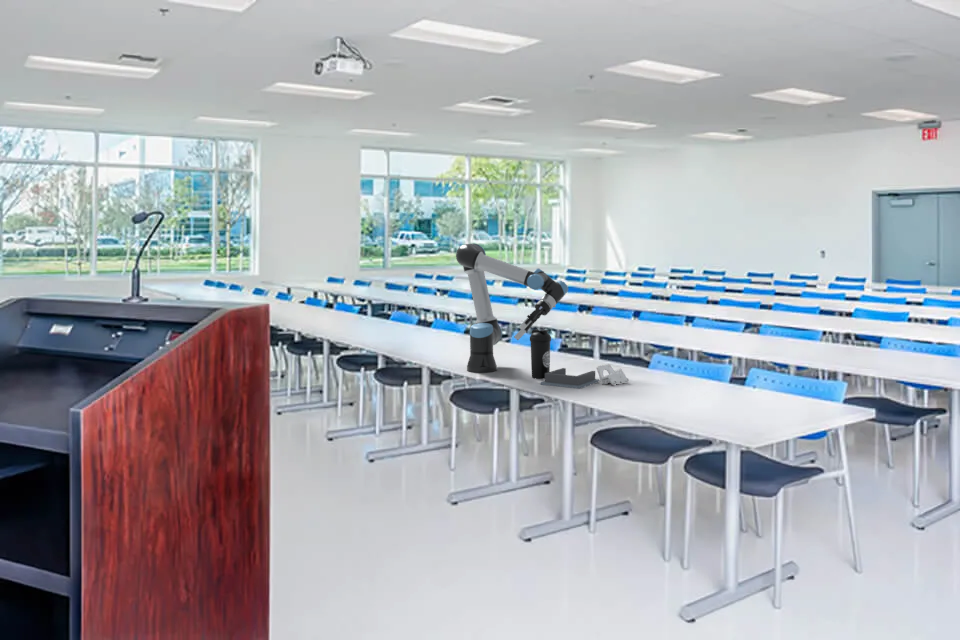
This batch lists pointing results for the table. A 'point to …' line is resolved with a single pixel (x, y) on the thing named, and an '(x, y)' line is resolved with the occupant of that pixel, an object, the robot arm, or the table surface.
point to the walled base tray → (569, 379)
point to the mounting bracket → (611, 375)
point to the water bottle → (540, 353)
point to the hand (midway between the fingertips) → (518, 333)
